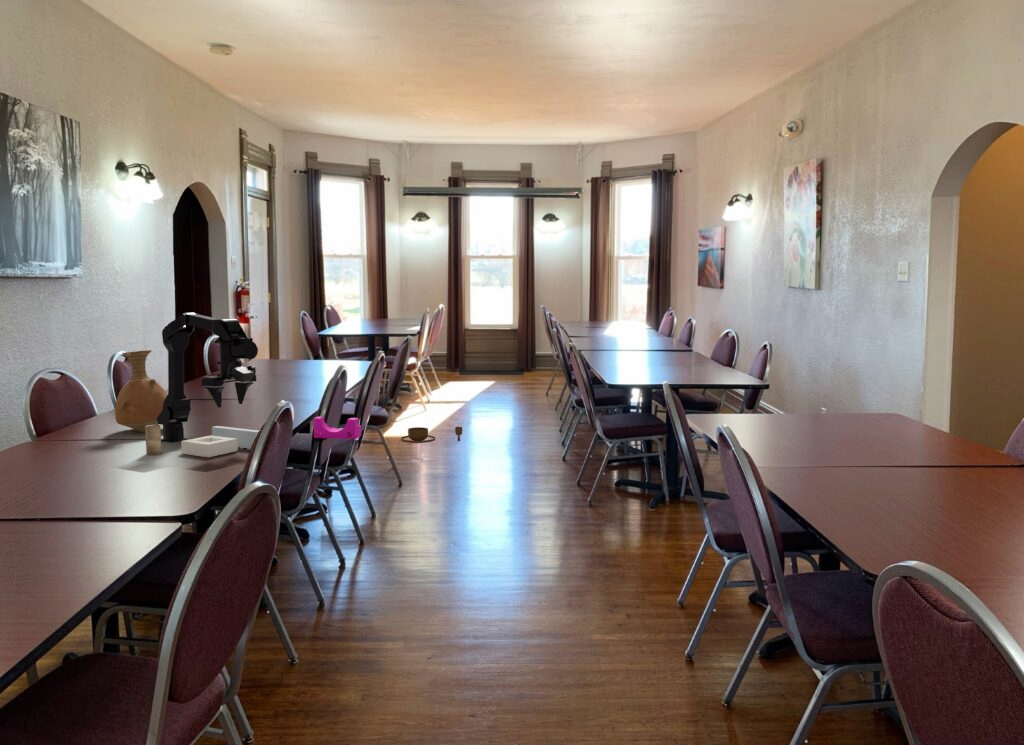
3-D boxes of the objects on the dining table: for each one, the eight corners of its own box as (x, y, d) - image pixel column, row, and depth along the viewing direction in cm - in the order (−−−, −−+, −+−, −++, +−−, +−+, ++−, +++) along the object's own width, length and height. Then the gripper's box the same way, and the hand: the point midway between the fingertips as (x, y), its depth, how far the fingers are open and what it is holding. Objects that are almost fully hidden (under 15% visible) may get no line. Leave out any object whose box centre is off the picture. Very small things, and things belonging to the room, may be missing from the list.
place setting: (424, 437, 312) (424, 421, 312) (465, 443, 300) (465, 426, 299) (388, 444, 299) (388, 427, 298) (429, 451, 286) (429, 433, 286)
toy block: (361, 437, 308) (360, 416, 307) (355, 441, 302) (354, 419, 301) (321, 436, 311) (320, 415, 310) (314, 439, 304) (313, 418, 304)
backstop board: (212, 444, 293) (211, 426, 292) (218, 443, 295) (217, 425, 294) (256, 450, 283) (256, 432, 283) (262, 448, 286) (261, 430, 285)
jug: (123, 440, 300) (120, 353, 297) (106, 432, 314) (103, 349, 311) (181, 433, 313) (178, 350, 310) (162, 426, 327) (159, 347, 324)
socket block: (181, 453, 277) (181, 441, 276) (210, 447, 287) (210, 435, 287) (208, 457, 271) (208, 444, 270) (237, 450, 281) (237, 438, 281)
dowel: (143, 454, 276) (142, 426, 275) (154, 452, 280) (153, 424, 279) (152, 455, 274) (151, 427, 273) (164, 453, 278) (163, 425, 277)
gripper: (225, 361, 269) (226, 411, 271) (268, 356, 285) (269, 404, 287) (199, 359, 274) (200, 408, 276) (243, 355, 291) (244, 401, 292)
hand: (230, 405), depth 283 cm, fingers open, 9 cm apart
